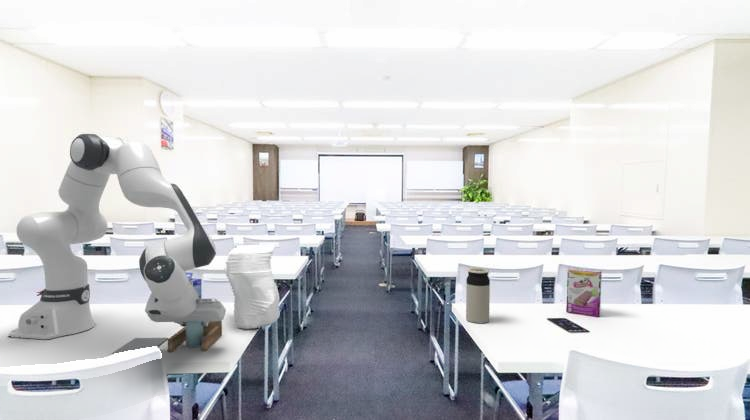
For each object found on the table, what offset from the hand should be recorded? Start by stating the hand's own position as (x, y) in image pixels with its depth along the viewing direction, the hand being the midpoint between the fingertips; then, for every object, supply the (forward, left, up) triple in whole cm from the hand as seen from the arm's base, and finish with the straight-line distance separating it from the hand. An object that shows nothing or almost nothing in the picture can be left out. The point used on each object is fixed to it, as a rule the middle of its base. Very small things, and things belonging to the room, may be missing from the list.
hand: (195, 324), depth 120 cm
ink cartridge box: (-17, +34, -6) cm, 39 cm away
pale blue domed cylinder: (0, +1, -6) cm, 6 cm away
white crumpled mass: (+11, +19, -6) cm, 23 cm away
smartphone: (+120, +12, -6) cm, 121 cm away
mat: (-15, -3, -6) cm, 16 cm away
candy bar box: (+133, +25, -6) cm, 136 cm away
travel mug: (+91, +19, -6) cm, 93 cm away
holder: (0, +1, -6) cm, 6 cm away
